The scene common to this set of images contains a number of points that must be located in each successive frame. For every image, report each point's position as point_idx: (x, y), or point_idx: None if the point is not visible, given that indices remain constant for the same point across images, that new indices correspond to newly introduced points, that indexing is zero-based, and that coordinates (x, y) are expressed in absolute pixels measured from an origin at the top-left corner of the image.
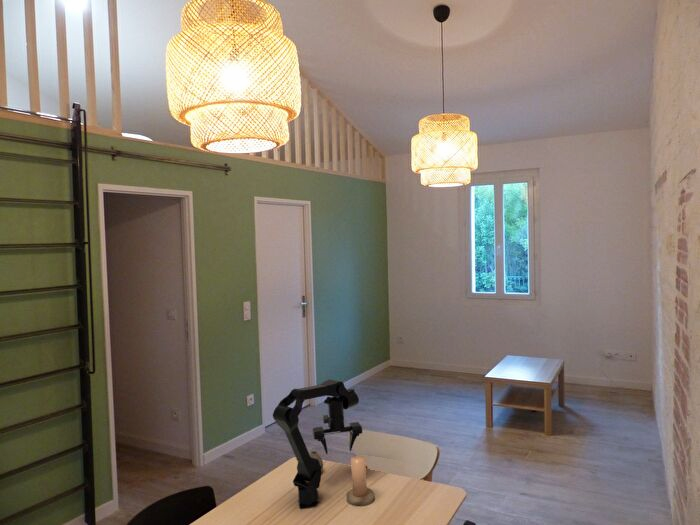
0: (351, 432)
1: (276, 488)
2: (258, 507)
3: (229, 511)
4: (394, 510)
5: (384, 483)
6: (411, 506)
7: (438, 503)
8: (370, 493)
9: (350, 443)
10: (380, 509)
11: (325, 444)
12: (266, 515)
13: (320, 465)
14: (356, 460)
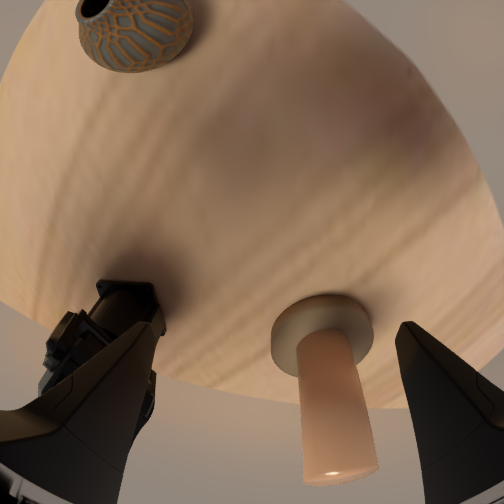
0: (485, 495)
1: (22, 170)
2: (19, 275)
3: None
4: (376, 386)
5: (444, 253)
6: None
7: None
8: (357, 351)
9: (418, 421)
10: None
11: (117, 463)
12: (49, 317)
13: (164, 53)
14: (327, 482)
